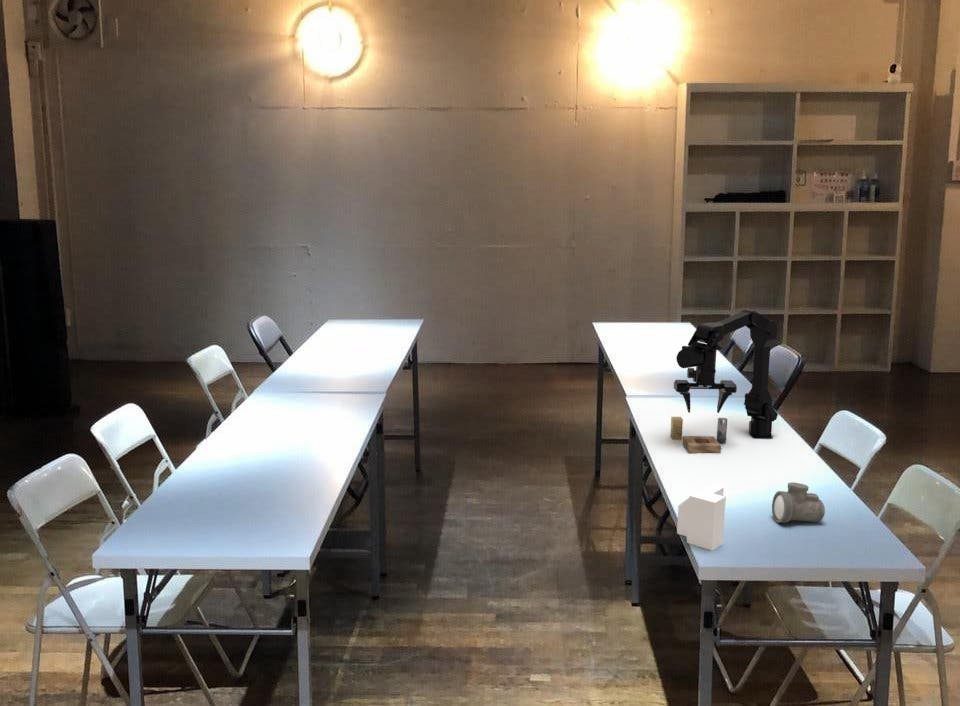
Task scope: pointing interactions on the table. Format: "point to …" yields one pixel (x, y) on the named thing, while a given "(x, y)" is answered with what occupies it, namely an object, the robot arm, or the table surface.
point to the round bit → (721, 430)
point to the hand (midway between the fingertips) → (703, 412)
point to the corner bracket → (703, 517)
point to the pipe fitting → (797, 505)
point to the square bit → (676, 428)
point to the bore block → (701, 444)
